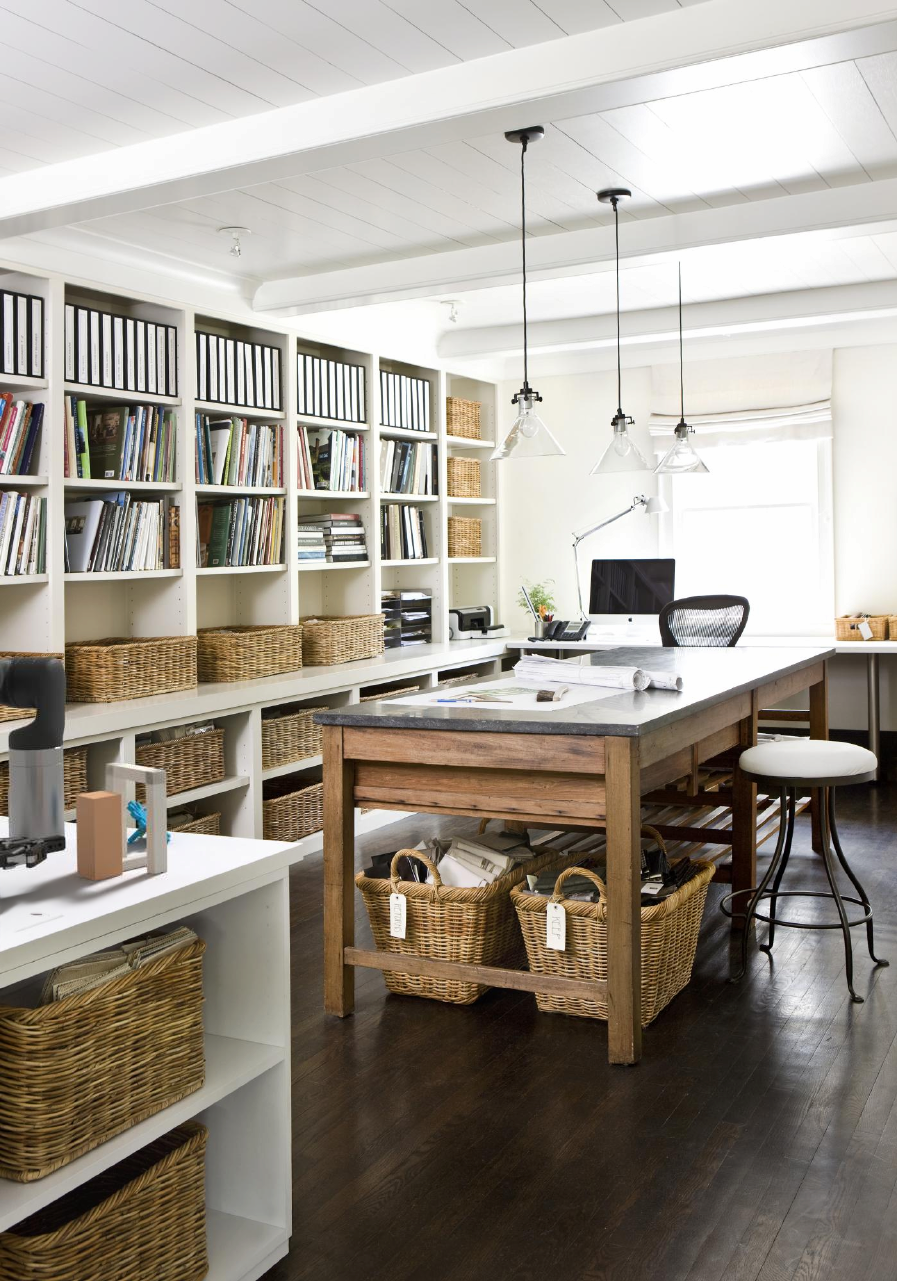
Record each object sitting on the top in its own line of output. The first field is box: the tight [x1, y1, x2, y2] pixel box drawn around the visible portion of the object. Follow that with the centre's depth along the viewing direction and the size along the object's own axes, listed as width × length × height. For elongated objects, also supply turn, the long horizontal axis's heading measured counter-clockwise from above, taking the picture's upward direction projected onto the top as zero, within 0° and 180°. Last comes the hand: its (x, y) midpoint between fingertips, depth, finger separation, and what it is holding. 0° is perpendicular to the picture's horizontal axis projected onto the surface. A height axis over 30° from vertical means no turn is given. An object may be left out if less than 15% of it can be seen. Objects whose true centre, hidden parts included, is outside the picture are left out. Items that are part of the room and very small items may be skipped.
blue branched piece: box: [126, 800, 172, 844], centre depth 206 cm, size 11×6×10 cm
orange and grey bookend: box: [75, 790, 147, 882], centre depth 187 cm, size 5×14×13 cm, turn 140°
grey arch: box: [105, 761, 168, 875], centre depth 189 cm, size 13×2×16 cm, turn 50°
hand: (62, 842), depth 179 cm, fingers closed
